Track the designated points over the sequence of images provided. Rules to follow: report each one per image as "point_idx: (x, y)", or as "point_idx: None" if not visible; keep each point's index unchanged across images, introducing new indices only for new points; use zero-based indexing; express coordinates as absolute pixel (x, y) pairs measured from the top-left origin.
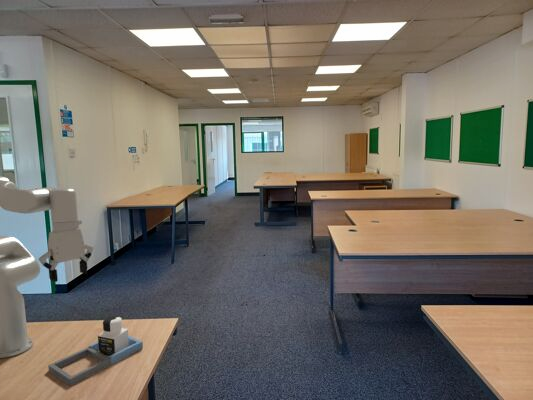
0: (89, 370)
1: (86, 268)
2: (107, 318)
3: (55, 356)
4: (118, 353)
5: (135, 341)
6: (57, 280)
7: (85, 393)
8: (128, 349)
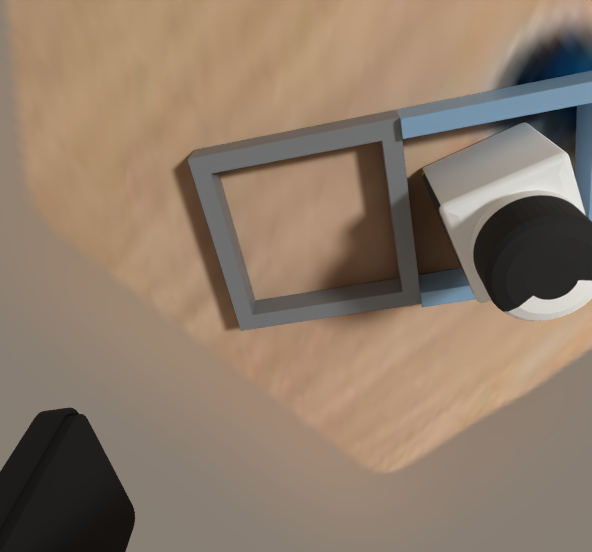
0: (320, 316)
1: None
2: (536, 249)
3: (246, 13)
4: (462, 300)
5: None
6: (131, 526)
7: (272, 385)
8: None
